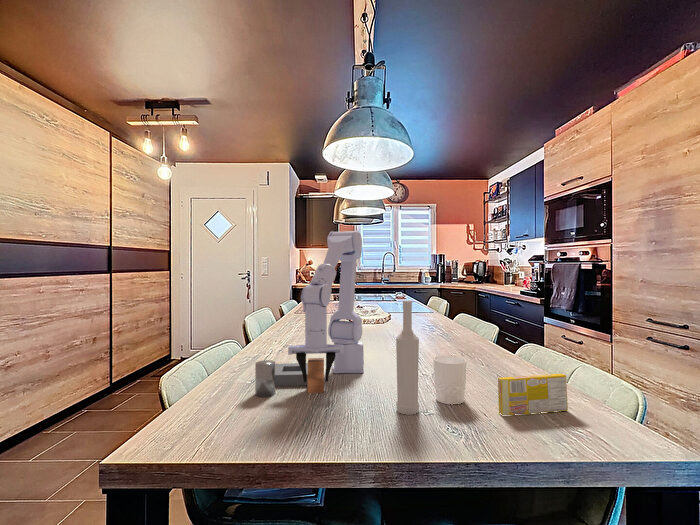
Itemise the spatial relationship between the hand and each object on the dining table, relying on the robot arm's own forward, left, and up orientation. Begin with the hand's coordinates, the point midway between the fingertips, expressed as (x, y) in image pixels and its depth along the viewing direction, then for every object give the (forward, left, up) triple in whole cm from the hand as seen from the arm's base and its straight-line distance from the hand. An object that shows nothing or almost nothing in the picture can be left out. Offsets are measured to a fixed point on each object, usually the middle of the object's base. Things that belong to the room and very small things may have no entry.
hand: (315, 380), depth 98 cm
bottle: (-21, +16, -3) cm, 27 cm away
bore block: (+7, -10, -2) cm, 12 cm away
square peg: (0, 0, -2) cm, 2 cm away
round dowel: (+13, +2, -2) cm, 13 cm away
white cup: (-33, +10, -3) cm, 35 cm away
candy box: (-49, +19, -3) cm, 53 cm away
